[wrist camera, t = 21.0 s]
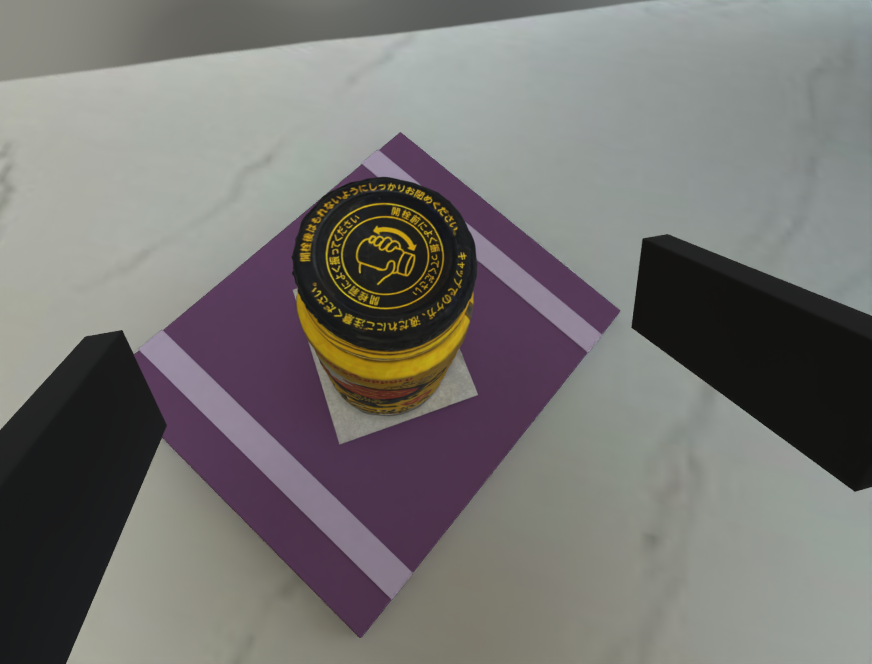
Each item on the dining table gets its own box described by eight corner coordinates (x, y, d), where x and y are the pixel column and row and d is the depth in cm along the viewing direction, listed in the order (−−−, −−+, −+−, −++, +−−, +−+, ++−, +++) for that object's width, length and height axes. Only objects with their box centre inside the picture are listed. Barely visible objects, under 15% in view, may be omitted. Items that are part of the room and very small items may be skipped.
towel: (400, 138, 29) (400, 130, 29) (616, 314, 27) (621, 310, 26) (110, 381, 23) (102, 378, 22) (361, 634, 21) (360, 639, 20)
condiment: (339, 445, 23) (295, 407, 11) (293, 291, 25) (215, 129, 13) (477, 395, 24) (560, 318, 13) (422, 254, 26) (450, 80, 15)
